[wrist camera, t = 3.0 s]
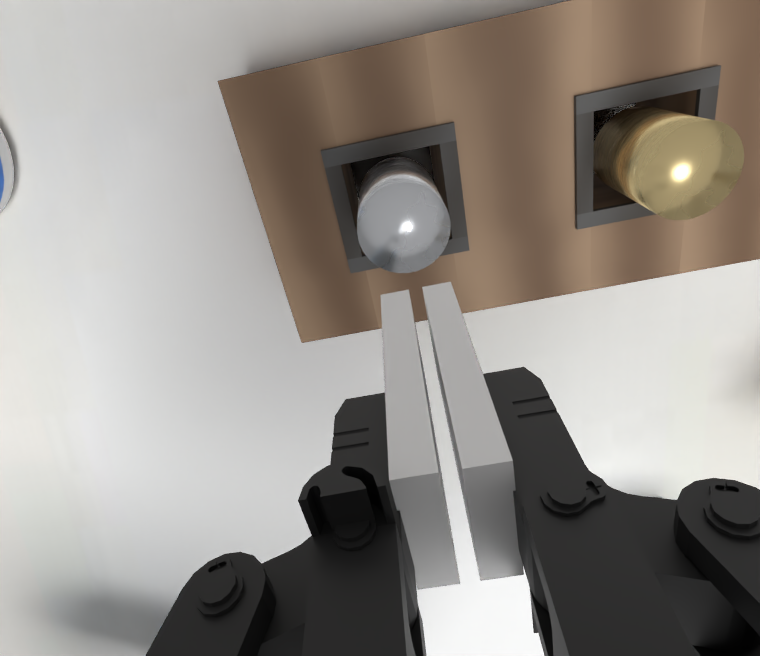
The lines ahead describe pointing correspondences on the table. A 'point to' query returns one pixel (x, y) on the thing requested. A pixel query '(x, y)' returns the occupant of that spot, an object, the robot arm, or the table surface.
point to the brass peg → (668, 160)
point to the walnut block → (499, 153)
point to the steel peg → (401, 216)
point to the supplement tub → (5, 172)
